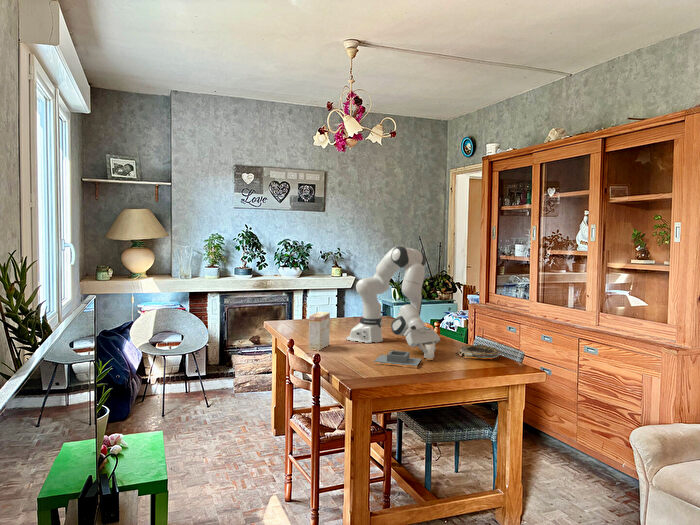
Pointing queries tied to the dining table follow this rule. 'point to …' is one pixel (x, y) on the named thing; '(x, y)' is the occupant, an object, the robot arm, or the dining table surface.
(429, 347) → the paper roll
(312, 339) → the coffeecake box
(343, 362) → the dining table surface
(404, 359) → the roll caddy
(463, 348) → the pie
